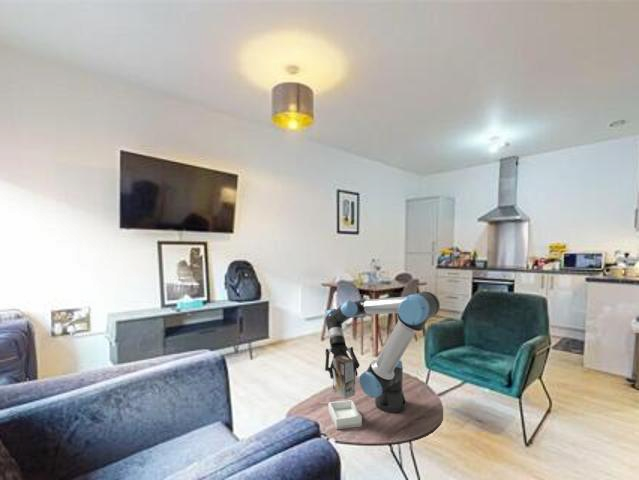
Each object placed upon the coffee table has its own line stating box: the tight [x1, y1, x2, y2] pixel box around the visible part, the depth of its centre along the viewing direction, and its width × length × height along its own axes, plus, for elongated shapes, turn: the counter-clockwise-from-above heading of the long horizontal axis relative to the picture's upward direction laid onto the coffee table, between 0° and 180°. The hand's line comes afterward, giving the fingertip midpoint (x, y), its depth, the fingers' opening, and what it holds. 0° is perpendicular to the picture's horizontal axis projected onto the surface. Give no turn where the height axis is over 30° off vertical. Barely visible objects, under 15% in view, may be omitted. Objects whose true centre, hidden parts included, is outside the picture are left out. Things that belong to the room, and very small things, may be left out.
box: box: [328, 399, 363, 430], centre depth 147 cm, size 12×15×4 cm
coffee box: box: [332, 355, 356, 400], centre depth 148 cm, size 9×6×16 cm
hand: (345, 384), depth 144 cm, fingers closed on coffee box, 9 cm apart
